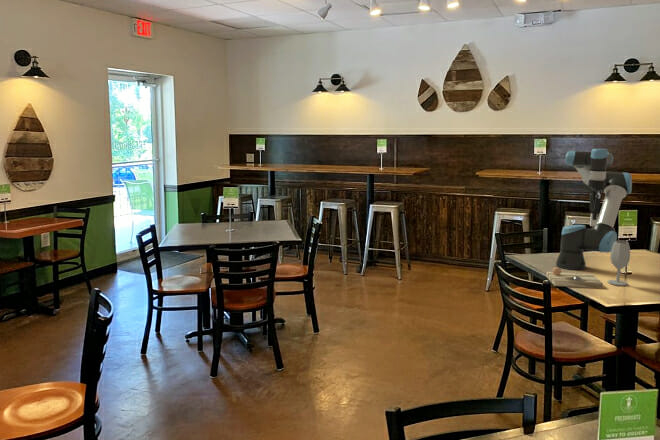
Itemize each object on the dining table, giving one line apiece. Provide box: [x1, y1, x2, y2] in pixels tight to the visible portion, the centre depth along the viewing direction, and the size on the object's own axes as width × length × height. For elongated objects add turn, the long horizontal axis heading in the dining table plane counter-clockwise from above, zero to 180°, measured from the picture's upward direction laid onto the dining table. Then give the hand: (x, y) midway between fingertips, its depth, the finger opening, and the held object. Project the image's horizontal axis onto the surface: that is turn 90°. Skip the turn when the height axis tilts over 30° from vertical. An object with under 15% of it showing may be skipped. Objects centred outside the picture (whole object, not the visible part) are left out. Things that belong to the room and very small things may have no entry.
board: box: [545, 271, 604, 289], centre depth 287 cm, size 18×22×2 cm
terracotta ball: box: [552, 266, 562, 275], centre depth 290 cm, size 4×4×4 cm
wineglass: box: [607, 240, 631, 287], centre depth 283 cm, size 9×9×21 cm
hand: (593, 225), depth 295 cm, fingers closed
